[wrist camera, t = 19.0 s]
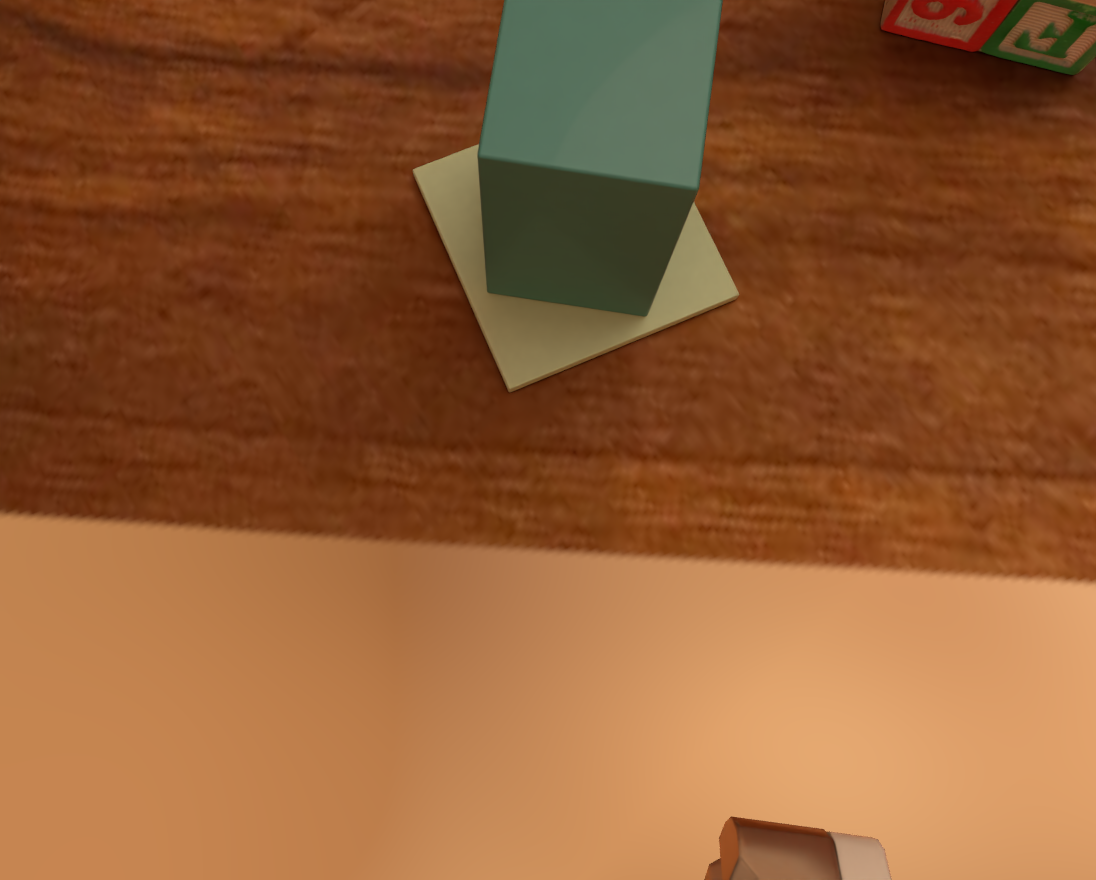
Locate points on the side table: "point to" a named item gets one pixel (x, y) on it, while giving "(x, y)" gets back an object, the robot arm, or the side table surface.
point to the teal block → (593, 146)
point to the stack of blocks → (1003, 28)
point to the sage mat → (551, 328)
